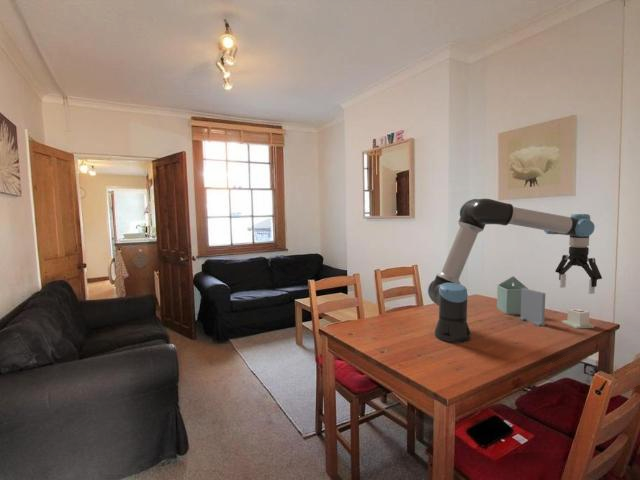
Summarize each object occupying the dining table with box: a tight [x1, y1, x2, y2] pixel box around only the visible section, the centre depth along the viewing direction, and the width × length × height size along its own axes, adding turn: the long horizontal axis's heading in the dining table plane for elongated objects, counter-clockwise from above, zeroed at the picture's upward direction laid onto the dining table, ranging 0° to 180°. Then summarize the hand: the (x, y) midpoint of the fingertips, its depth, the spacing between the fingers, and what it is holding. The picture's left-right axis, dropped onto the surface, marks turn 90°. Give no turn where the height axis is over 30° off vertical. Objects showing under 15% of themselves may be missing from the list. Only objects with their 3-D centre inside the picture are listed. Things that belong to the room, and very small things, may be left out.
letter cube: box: [566, 308, 590, 326], centre depth 167 cm, size 6×6×6 cm
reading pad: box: [561, 319, 596, 329], centre depth 167 cm, size 9×9×1 cm
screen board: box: [518, 288, 547, 327], centre depth 172 cm, size 12×5×16 cm, turn 18°
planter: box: [496, 275, 529, 315], centre depth 188 cm, size 16×8×20 cm, turn 40°
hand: (576, 290), depth 165 cm, fingers open, 13 cm apart
